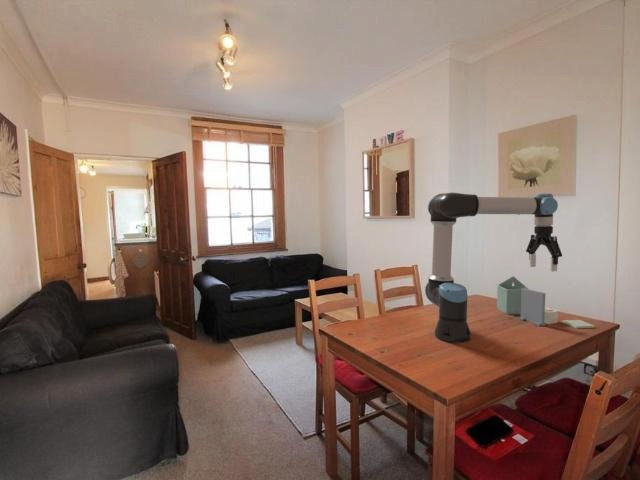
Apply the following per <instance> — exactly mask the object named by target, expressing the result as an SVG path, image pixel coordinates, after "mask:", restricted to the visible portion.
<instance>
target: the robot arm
mask: <svg viewBox="0 0 640 480" xmlns="http://www.w3.org/2000/svg"><path fill="white" fill-rule="evenodd" d="M558 206H559V203H558V200H557V199H555V198H554V194H553V193H537V194H534V197H530V196H529V197H527V196H526V197H523V196H522V197H520V196H512V197H511V196H478V195H477V194H471V193H469V194H467V193H458V192H447V193H446V192H445V193H438V194H436V195H434V196H433V197H432V198H430V200H429V202H428V204H427V210H428V211H427V212H428V213H429V215H430V223H431V224H432V226H433V239H432V241H433V242H432V244H433V245H432V265H431V268H432V269H431V275H429V277H428V282H427V283H426V285H425V287H424V294H425V297H426V298H427V299H428V300H429V302H430V303H431V304H433V305H435V306H437V307H438V321H437V323H436V326H435V329H434V336H435V337H436V338H437V339H439V340H441V341H444V342H448V343H456V344H457V343H460V344H461V343H467V342H469V341H471V340H472V338H471V337H472V333H471V330H470V327H469V323H468V297H469V296H468V289H467V288H466V287H465V286H464V285H462V284H460V283H455V278H454V277H453V276H452V273H451V272H452V255H453V254H452V251H453V250H452V249H453V233H454V232H453V227H454V225H455V224H456V223H457V219H458V218H465V217H466V218H467V217H476V216H477V215H518V216H520V215H534V224H533V225H534V228H533V229H534V234H531V235H530V240H529V241H528V245H527V248H526V250H525V252H526V253H528V255H529V256H528V257H529V259H528V260H529V268H535V267H536V266H537V265H536V264H537V262H536V261H537V260H536V259H537V254H536V252H537V250H538V249H539V248H540V246H541V245H542V246H544V247H546V248H547V250H548V252H549V253H550V254H549V255H550V256H551V257H550V272H557V271H558V265H559V258H560V257H563V254H562V250H561V248H560V245H559V242H558V237H557V236H556V235H555V236H553V235H552V234H553V233H554V232H553V231H554V226H553V225H554V213H556V211H557V210H558Z"/></svg>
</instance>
